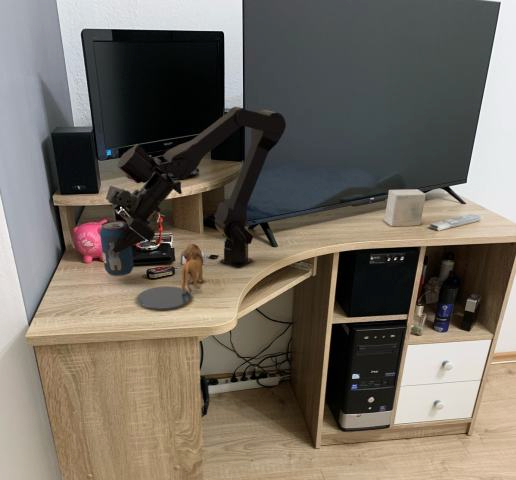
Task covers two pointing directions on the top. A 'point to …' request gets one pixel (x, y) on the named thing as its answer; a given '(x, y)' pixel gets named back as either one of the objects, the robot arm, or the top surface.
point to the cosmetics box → (404, 207)
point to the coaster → (163, 298)
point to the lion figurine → (192, 267)
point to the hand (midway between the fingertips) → (110, 247)
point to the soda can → (114, 261)
